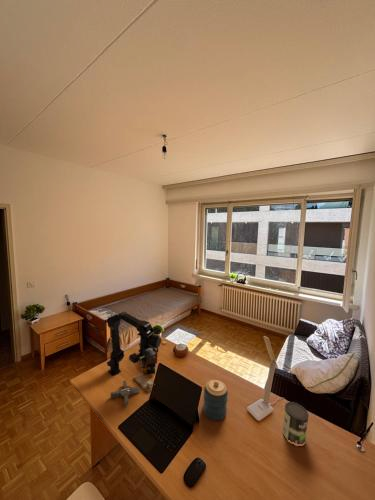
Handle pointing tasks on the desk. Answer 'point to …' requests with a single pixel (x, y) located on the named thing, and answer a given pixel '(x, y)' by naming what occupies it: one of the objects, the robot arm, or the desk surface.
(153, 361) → the toy soldier
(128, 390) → the capstan
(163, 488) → the desk surface
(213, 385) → the canister
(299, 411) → the coffee can
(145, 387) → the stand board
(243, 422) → the desk surface
